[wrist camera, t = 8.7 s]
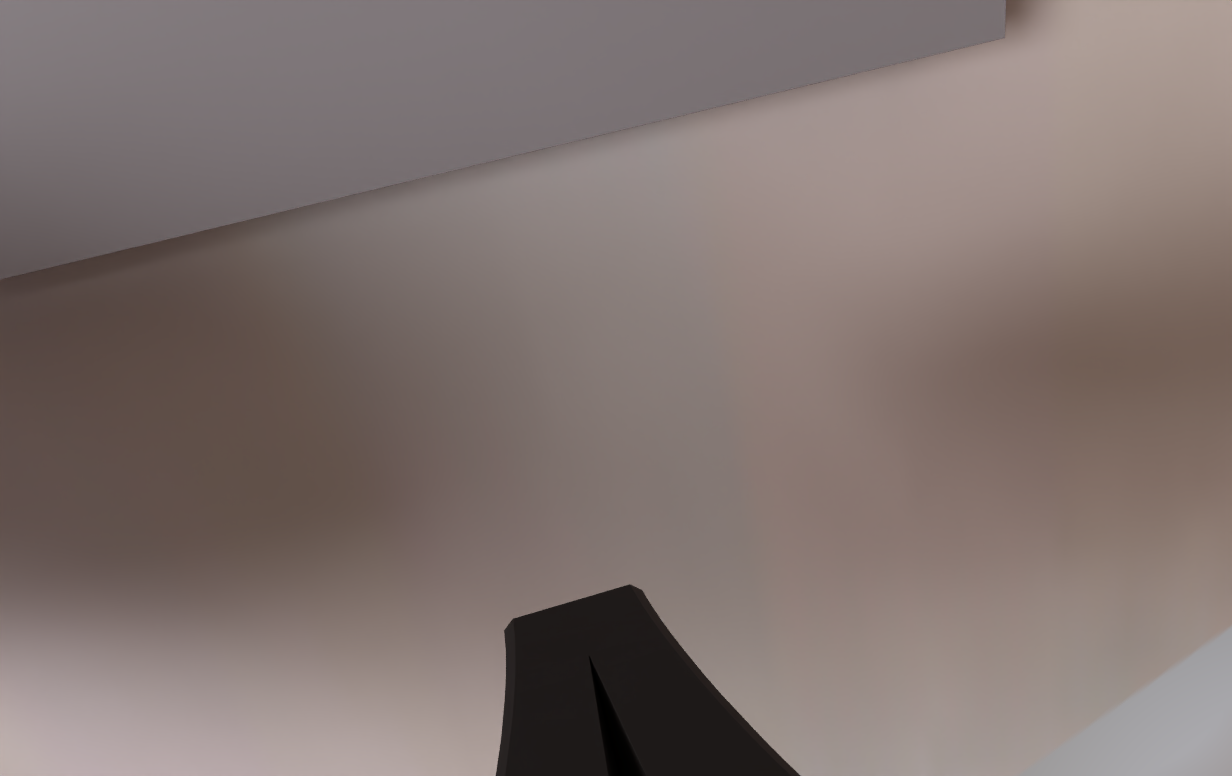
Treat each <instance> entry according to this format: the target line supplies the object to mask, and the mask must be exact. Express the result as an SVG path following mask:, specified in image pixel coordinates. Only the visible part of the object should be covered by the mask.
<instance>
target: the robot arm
mask: <svg viewBox="0 0 1232 776" xmlns="http://www.w3.org/2000/svg"><path fill="white" fill-rule="evenodd" d="M504 633H505V644H506V688H505V704H504V715H503V726H502V736H501V744H500V751H499V758H498V765H497V772H496V776H800V775H799V774H798V773H797V772H796V771H795V770H794V769H793V768H792V767H791V766H790V765H789V764H788V763H787V762H786V761H785V760H784V759H783V758H782V757H781V756H780V755H779V754H778V753H777V752H776V751H775V750H774V749H773V748H772V747H771V746H770V745H769V744H768V743H767V742H766V741H765V740H764V739H763V738H762V737H761V736H760V735H759V734H758V733H757V732H756V731H755V730H754V729H753V728H752V727H751V726H750V725H749V723H748V722H747V721H746V720H745V719H744V718H743V717H742V716H741V715H740V714H739V713H738V712H737V711H736V710H735V709H734V707H733V706H732V705H731V704H730V703H729V702H728V701H727V700H726V699H725V698H724V697H723V696H722V695H721V693H720V692H719V691H718V690H717V689H716V688H715V687H714V685H713V684H712V683H711V682H710V681H709V680H708V679H707V677H706V676H705V675H704V674H703V673H702V672H701V670H700V669H699V668H698V667H697V665H696V664H695V663H694V662H693V661H692V659H691V658H690V657H689V656H688V655H687V653H686V652H685V651H684V650H683V648H682V647H681V646H680V645H679V643H678V642H677V641H676V639H675V638H674V637H673V635H672V634H671V633H670V632H669V630H668V629H667V627H666V626H665V625H664V623H663V622H662V621H661V619H660V618H659V616H658V615H657V613H656V612H655V610H654V609H653V607H652V606H651V604H650V603H649V601H648V599H647V598H646V596H645V594H644V592H643V591H642V590H641V589H639V588H637V587H634V586H632V585H626V586H623V587H620V588H616V589H613V590H609V591H606V592H603V593H599V594H596V595H592V596H589V597H586V598H582V599H579V600H575V601H572V602H569V603H565V604H562V605H558V606H555V607H552V608H548V609H545V610H542V611H538V612H535V613H531V614H528V615H525V616H521V617H518V618H514V619H512V621H511V622H510V624H509V625H508V626H507V628H506V629H505V630H504Z"/></svg>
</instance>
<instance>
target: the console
mask: <svg viewBox="0 0 1232 776" xmlns="http://www.w3.org/2000/svg"><path fill="white" fill-rule="evenodd" d="M1005 17H1006V0H0V280H1V279H5V278H9V277H13V276H17V275H22V274H26V273H30V272H34V271H38V270H42V269H47V268H51V267H55V266H59V265H63V264H67V263H72V262H76V261H80V260H84V259H88V258H92V257H96V256H101V255H105V254H109V253H113V252H117V251H121V250H126V249H130V248H134V247H138V246H142V245H146V244H150V243H155V242H159V241H163V240H167V239H171V238H175V237H180V236H184V235H188V234H192V233H196V232H200V231H205V230H209V229H213V228H217V227H221V226H225V225H229V224H234V223H238V222H242V221H246V220H250V219H254V218H259V217H263V216H267V215H271V214H275V213H279V212H283V211H288V210H292V209H296V208H300V207H304V206H308V205H313V204H317V203H321V202H325V201H329V200H333V199H338V198H342V197H346V196H350V195H354V194H358V193H362V192H367V191H371V190H375V189H379V188H383V187H387V186H392V185H396V184H400V183H404V182H408V181H412V180H417V179H421V178H425V177H429V176H433V175H437V174H441V173H446V172H450V171H454V170H458V169H462V168H466V167H471V166H475V165H479V164H483V163H487V162H491V161H495V160H500V159H504V158H508V157H512V156H516V155H520V154H525V153H529V152H533V151H537V150H541V149H545V148H550V147H554V146H558V145H562V144H566V143H570V142H574V141H579V140H583V139H587V138H591V137H595V136H599V135H604V134H608V133H612V132H616V131H620V130H624V129H629V128H633V127H637V126H641V125H645V124H649V123H653V122H658V121H662V120H666V119H670V118H674V117H678V116H683V115H687V114H691V113H695V112H699V111H703V110H707V109H712V108H716V107H720V106H724V105H728V104H732V103H737V102H741V101H745V100H749V99H753V98H757V97H762V96H766V95H770V94H774V93H778V92H782V91H786V90H791V89H795V88H799V87H803V86H807V85H811V84H816V83H820V82H824V81H828V80H832V79H836V78H840V77H845V76H849V75H853V74H857V73H861V72H865V71H870V70H874V69H878V68H882V67H886V66H890V65H895V64H899V63H903V62H907V61H911V60H915V59H919V58H924V57H928V56H932V55H936V54H940V53H944V52H949V51H953V50H957V49H961V48H965V47H969V46H974V45H978V44H982V43H986V42H990V41H994V40H998V39H1003V38H1005Z"/></svg>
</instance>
